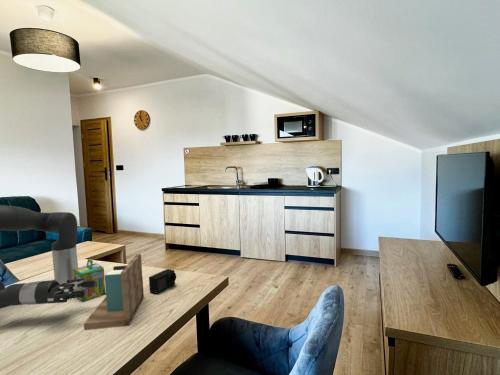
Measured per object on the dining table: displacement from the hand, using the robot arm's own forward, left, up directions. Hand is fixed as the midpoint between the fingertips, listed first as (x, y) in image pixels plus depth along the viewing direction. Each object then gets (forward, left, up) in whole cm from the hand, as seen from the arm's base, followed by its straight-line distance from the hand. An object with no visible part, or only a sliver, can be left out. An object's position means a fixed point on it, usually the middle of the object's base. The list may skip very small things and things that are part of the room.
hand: (89, 288), depth 101 cm
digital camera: (-17, +22, -10) cm, 30 cm away
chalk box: (-18, -8, -10) cm, 22 cm away
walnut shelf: (-1, +8, -10) cm, 13 cm away
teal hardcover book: (0, +10, -8) cm, 13 cm away
